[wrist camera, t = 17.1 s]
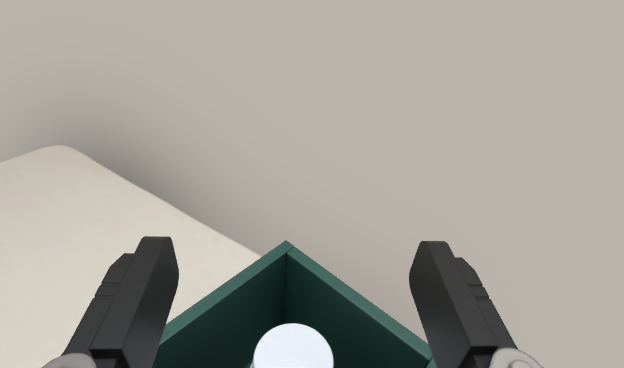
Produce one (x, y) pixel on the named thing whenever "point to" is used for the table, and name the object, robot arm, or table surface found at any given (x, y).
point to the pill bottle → (292, 348)
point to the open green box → (287, 319)
